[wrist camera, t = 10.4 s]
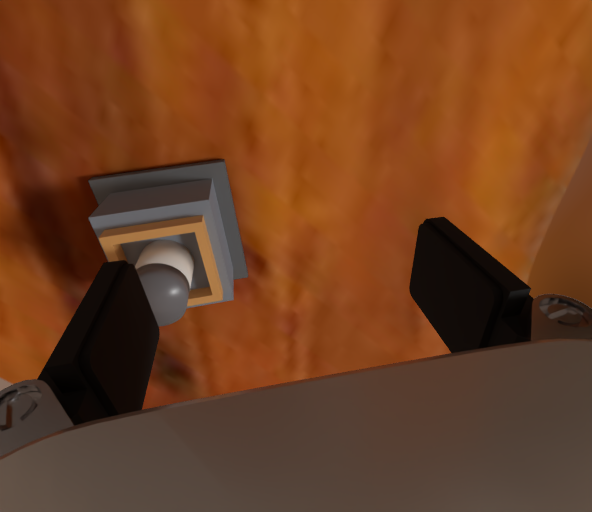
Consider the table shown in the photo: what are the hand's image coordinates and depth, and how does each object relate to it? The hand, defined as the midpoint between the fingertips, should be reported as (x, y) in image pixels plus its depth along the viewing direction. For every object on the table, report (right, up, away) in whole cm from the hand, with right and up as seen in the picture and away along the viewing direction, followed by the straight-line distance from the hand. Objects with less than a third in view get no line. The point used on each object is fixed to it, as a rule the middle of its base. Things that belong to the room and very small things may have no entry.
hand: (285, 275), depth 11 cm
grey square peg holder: (-13, +3, +26) cm, 29 cm away
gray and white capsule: (-12, 0, +20) cm, 23 cm away
